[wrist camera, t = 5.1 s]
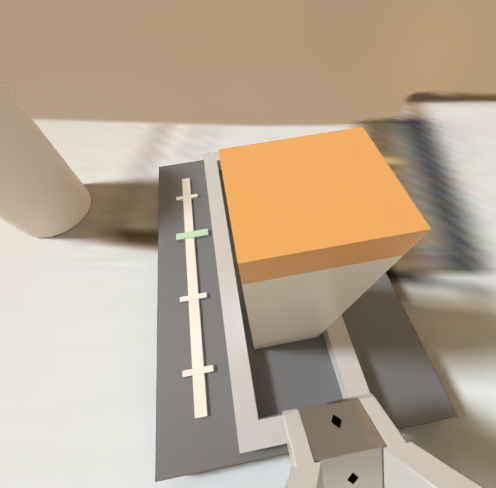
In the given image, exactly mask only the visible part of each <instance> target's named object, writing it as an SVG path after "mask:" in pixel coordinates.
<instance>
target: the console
mask: <svg viewBox="0 0 496 488" xmlns="http://www.w3.org/2000/svg"><path fill="white" fill-rule="evenodd" d="M203 157H204V160H201V161H195V162H188V163H182V164H176V165H169V166H163V167H159V226H158V307H157V389H156V471H155V482H157V481H162V480H167V479H171V478H176V477H180V476H185V475H190V474H194V473H199V472H203V471H208V470H213V469H217V468H222V467H227V466H231V465H236V464H240V463H245V462H250V461H254V460H259V459H263V458H268V457H273V456H277V455H282V454H287V453H289V452H288V447H287V441H286V435H285V429H284V422H283V415H282V411H285V410H290V409H296V408H297V409H298V408H301V407H306V406H312V405H318V404H324V403H326V402H331V401H335V400H340V399H344V398H349V397H353V396H355V397H356V396H360V395H365V394H369V393H371V394H372V395H374V396H375V398H376V399H377V401H378V402H379V404H380V405H381V407H382V408H383V409H384V411H385V412H386V414H387V415H388V417H389V418H390V419H391V421H392V422H393V424H394V425H395V427H396V428H397V429H402V428H407V427H411V426H416V425H420V424H425V423H430V422H434V421H439V420H443V419H448V418H453V417H457V414H456V412H455V410H454V408H453V406H452V404H451V402H450V400H449V398H448V396H447V394H446V392H445V390H444V388H443V386H442V384H441V382H440V380H439V378H438V376H437V374H436V372H435V370H434V368H433V366H432V364H431V362H430V360H429V358H428V356H427V354H426V352H425V350H424V348H423V346H422V344H421V342H420V340H419V338H418V336H417V334H416V332H415V330H414V328H413V326H412V324H411V322H410V320H409V318H408V316H407V314H406V312H405V310H404V308H403V306H402V304H401V302H400V300H399V298H398V296H397V294H396V292H395V290H394V288H393V286H392V284H391V282H390V280H389V278H388V276H387V274H386V272H385V273H384V274H383V275H382V276H381V277H380V278H379V279H378V280H377V281H376V282H375V283H374V284H373V285H372V286H371V287H370V288H369V289H368V290H367V291H365V292H364V293H363V294H362V295H361V296H360V297H359V298H358V299H357V300H356V301H355V302H354V303H353V304H352V305H351V306H350V307H349V308H348V309H347V310H346V311H345V312H343V313H342V314H341V315H340V316H339V317H338V318H337V319H336V320H335V321H334V322H333V323H332V324H331V325H330V326H329V327H328V328H327V329H326V330H325V331H324V332H323V333H321V334H320V335H319V336H318V337H316V338H311V339H305V340H300V341H295V342H290V343H285V344H280V345H275V346H270V347H265V348H260V349H254V346H253V341H252V335H251V330H250V325H249V320H248V315H247V309H246V304H245V299H244V294H243V289H242V283H241V278H240V273H239V268H238V262H237V257H236V251H235V245H234V239H233V233H232V227H231V221H230V216H229V210H228V204H227V198H226V192H225V186H224V180H223V175H222V169H221V163H220V157H219V152H214V153H207V154H203Z"/></svg>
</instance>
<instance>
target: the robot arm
mask: <svg viewBox="0 0 496 488" xmlns="http://www.w3.org/2000/svg"><path fill="white" fill-rule="evenodd" d="M282 415H283V422H284V429H285V435H286V441H287V447H288V452H289V457H290V462H291V466H292V468H291V469H290V472H289V476H288V480H287V483H286V487H285V488H482V487H480V486H479V485H477V484H476V483H474V482H473V481H471V480H470V479H468V478H466V477H465V476H463V475H462V474H460V473H459V472H457V471H456V470H454V469H453V468H451V467H450V466H448V465H446V464H445V463H443V462H442V461H440V460H439V459H437V458H436V457H434V456H433V455H431V454H430V453H428V452H426V451H425V450H423V449H422V448H420V447H419V446H417V445H416V444H414V443H413V442H409V443H407V442H406V441H405V439H404V438H403V437H402V435H401V434H400V432H399V431H398V429H397V428H396V427H395V425H394V424H393V422H392V421H391V419H390V418H389V417H388V415H387V414H386V412H385V411H384V409H383V408H382V407H381V405H380V404H379V402H378V401H377V399H376V398H375V396H374V395H372V394H371V393H369V394H365V395H360V396H356V397H355V396H353V397H349V398H344V399H340V400H335V401H331V402H326V403H324V404H318V405H312V406H306V407H301V408H298V409H297V408H296V409H290V410H285V411H282Z"/></svg>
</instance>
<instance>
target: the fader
mask: <svg viewBox="0 0 496 488" xmlns="http://www.w3.org/2000/svg"><path fill="white" fill-rule="evenodd" d="M218 151H219V157H220V163H221V169H222V175H223V180H224V186H225V192H226V198H227V204H228V210H229V216H230V221H231V227H232V233H233V239H234V245H235V251H236V257H237V262H238V268H239V273H240V278H241V283H242V289H243V294H244V299H245V304H246V309H247V315H248V320H249V325H250V330H251V335H252V341H253V346H254V349H260V348H265V347H270V346H275V345H280V344H285V343H290V342H295V341H300V340H305V339H311V338H316V337H318V336H319V335H320V334H321V333H323V332H324V331H325V330H326V329H327V328H328V327H329V326H330V325H331V324H332V323H333V322H334V321H335V320H336V319H337V318H338V317H339V316H340V315H341V314H342V313H343V312H345V311H346V310H347V309H348V308H349V307H350V306H351V305H352V304H353V303H354V302H355V301H356V300H357V299H358V298H359V297H360V296H361V295H362V294H363V293H364V292H365V291H367V290H368V289H369V288H370V287H371V286H372V285H373V284H374V283H375V282H376V281H377V280H378V279H379V278H380V277H381V276H382V275H383V274H384V273H385V272H386V271H387V270H389V269H390V268H391V267H392V266H393V265H394V264H395V263H396V262H397V261H398V260H399V259H400V258H401V257H402V256H403V255H404V254H405V253H406V252H407V251H408V250H410V249H411V248H412V247H413V246H414V245H415V244H416V243H417V242H418V241H419V240H420V239H421V238H422V237H423V236H424V235H425V234H426V233H427V232H428V231H429V230H430V229H431V228H430V227H429V225H428V224H427V222H426V221H425V219H424V218H423V216H422V215H421V213H420V212H419V210H418V209H417V207H416V206H415V204H414V203H413V201H412V200H411V198H410V197H409V195H408V194H407V192H406V191H405V189H404V188H403V186H402V185H401V183H400V182H399V180H398V179H397V177H396V176H395V174H394V173H393V171H392V170H391V168H390V167H389V165H388V164H387V162H386V161H385V159H384V158H383V156H382V155H381V153H380V152H379V150H378V149H377V147H376V146H375V144H374V143H373V141H372V140H371V138H370V137H369V136H368V134H367V133H366V131H365V130H364V128H363V127H360V128H353V129H347V130H340V131H334V132H328V133H321V134H315V135H309V136H302V137H296V138H290V139H283V140H277V141H270V142H264V143H258V144H251V145H245V146H239V147H232V148H226V149H219V150H218Z"/></svg>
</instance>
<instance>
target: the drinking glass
mask: <svg viewBox="0 0 496 488" xmlns="http://www.w3.org/2000/svg"><path fill="white" fill-rule="evenodd" d="M90 205H91V197H90V193H89V191H88V190H87V189H86V187H85V186H84V185H83V184H82V182H81V181H80V180H79V179H78V177H77V176H76V175H75V173H74V172H73V171H72V170H71V168H70V167H69V166H68V165H67V163H66V162H65V161H64V159H63V158H62V157H61V156H60V154H59V153H58V152H57V150H56V149H55V148H54V147H53V145H52V144H51V143H50V142H49V140H48V139H47V138H46V136H45V135H44V134H43V133H42V131H41V130H40V129H39V128H38V126H37V125H36V124H35V122H34V121H33V120H32V119H31V117H30V116H29V115H28V114H27V112H26V111H25V110H24V108H23V107H22V106H21V105H20V103H19V102H18V101H17V99H16V98H15V97H14V96H13V94H12V93H11V92H10V91H9V89H8V88H7V87H6V86H5V84H4V83H3V82H2V80H1V79H0V219H2V220H4V221H5V222H7V223H9V224H11V225H12V226H14V227H16V228H17V229H19V230H21V231H22V232H24V233H26V234H27V235H30V236H33V237H37V238H45V237H54V236H56V235H59V234H61V233H64V232H66V231H68V230H70V229H71V228H72V227H74V226H75V225H77V224H78V223H79V222H80V221H81V220H82V219H83V218H84V216H85V215H86V214H87V212H88V211H89V208H90Z"/></svg>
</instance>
